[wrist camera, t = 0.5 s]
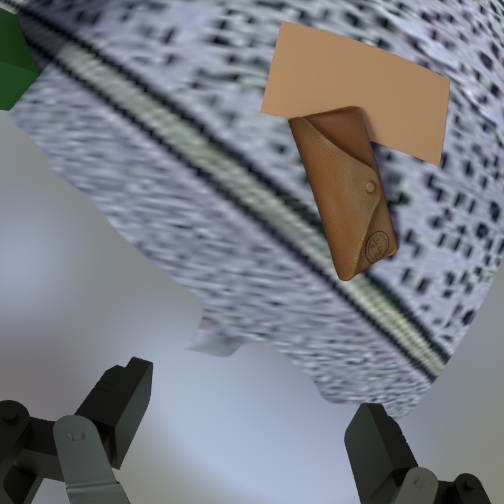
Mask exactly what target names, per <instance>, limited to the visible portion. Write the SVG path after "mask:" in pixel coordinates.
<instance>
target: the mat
mask: <svg viewBox="0 0 504 504" xmlns="http://www.w3.org/2000/svg"><path fill="white" fill-rule="evenodd" d="M449 84H450V80H448V79H446V78H444V77H442V76H440V75H438V74H436V73H434V72H432V71H430V70H428V69H426V68H424V67H422V66H420V65H418V64H415V63H413V62H411V61H409V60H406V59H404V58H402V57H399V56H397V55H394V54H392V53H389V52H387V51H384V50H382V49H379V48H376V47H374V46H371V45H368V44H365V43H362V42H359V41H356V40H353V39H350V38H347V37H344V36H340V35H337V34H334V33H330V32H326V31H323V30H319V29H315V28H311V27H307V26H303V25H298V24H294V23H289V22H284V21H282V22H281V27H280V31H279V35H278V39H277V43H276V47H275V51H274V55H273V60H272V64H271V68H270V72H269V77H268V81H267V85H266V90H265V94H264V98H263V103H262V107H261V111H260V112H263V113H268V114H273V115H278V116H282V117H287V118H294V117H303V116H308V115H311V114H317V113H322V112H326V111H331V110H335V109H339V108H343V107H348V106H355V107H359V108H360V110H361V113H362V115H363V118H364V121H365V125H366V128H367V132H368V135H369V139H370V141H372V142H375V143H378V144H381V145H384V146H387V147H390V148H393V149H396V150H398V151H401V152H404V153H406V154H409V155H412V156H414V157H417V158H419V159H422V160H424V161H427V162H429V163H432V164H434V165H437V166H439V165H440V160H441V154H442V147H443V141H444V134H445V126H446V118H447V108H448V97H449Z"/></svg>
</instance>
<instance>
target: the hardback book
mask: <svg viewBox="0 0 504 504" xmlns="http://www.w3.org/2000/svg"><path fill="white" fill-rule="evenodd" d="M39 75H40V73H39V71H38V69H37V66H36V64H35V62H34V59H33V57H32V55H31V52H30V50H29V48H28V45H27V43H26V40H25V38H24V35H23V33H22V30H21V28H20V25H19V22H18V20H17V17H16V15H14V14H12V13H10V12H8V11H6V10H4V9H2V8H0V110H7V111H9V110H10V109H11V108H12V106H13V105H14V104H15V103H16V102H17V100H18V99H19V98H20V97H21V95H22V94H23V93H24V92H25V91H26V90H27V88H28V87H29V86H30V85H31V84H32V83H33V82H34V81H35V79H36V78H37V77H38V76H39Z"/></svg>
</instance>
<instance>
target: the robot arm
mask: <svg viewBox="0 0 504 504" xmlns="http://www.w3.org/2000/svg"><path fill="white" fill-rule="evenodd" d="M152 373H153V363H152V362H150V361H146V360H143V359H140V358H137V357H132V358H131V360H130V361H129V363H128V365H127V366H126V367H122V366H119V365H116V366H114V367H112V368H110V369H108V370H106V371H105V373H104V374H103V376H102V377H101V378H100V381H98V382H97V384H96V385H95V387H94V388H93V389H92V390H91V392H90V393H89V395H88V396H87V397H86V399H85V400H84V402H83V403H82V404H81V406H80V407H79V408H78V410H77V411H76V413H75V414H74V415H67V416H63V417H61V418H60V419H58V420H57V421H56V422H55V421H47V420H43V419H38V418H34V417H30V415H29V412H28V411H27V409H26V408H25V407H24V406H23V405H22V404H20V403H19V402H16V401H12V400H5V401H1V402H0V504H31V503H32V500H33V498H34V496H35V494H36V492H37V490H38V488H39V487H40V485H41V483H42V480H43V479H44V478H48V479H53V480H58V481H63V482H65V484H66V491H67V495H68V498H69V501H70V504H131V503H130V502H129V499H128V497H127V495H126V493H125V491H124V489H123V487H122V485H121V484H120V482H118V481H117V480H116V478H115V476H114V473H113V471H112V468H115V469H118V470H119V469H120V467H121V464H122V462H123V460H124V457H125V455H126V453H127V451H128V449H129V446H130V444H131V442H132V440H133V438H134V435H135V433H136V431H137V429H138V427H139V424H140V422H141V420H142V418H143V416H144V414H145V411H146V409H147V407H148V404H149V400H150V396H151V386H152ZM344 442H345V446H346V450H347V453H348V457H349V460H350V464H351V468H352V472H353V475H354V479H355V483H356V487H357V490H358V494H359V498H360V502H361V504H491V502H490V500H489V498H488V496H487V494H486V492H485V490H484V488H483V486H482V484H481V482H480V481H479V479H478V478H477V477H475V476H474V475H472V474H468V473H464V474H460V475H459V476H458V477H457V478H456V479H455V480H454V481H453V482H447V481H439V480H438V479H437V477H436V476H435V474H434V473H433V472H432V471H430V470H428V469H426V468H423V467H418V464H417V462H416V460H415V458H414V456H413V454H412V452H411V449H410V447H409V445H408V443H407V442H406V439H405V437H404V435H402V431H401V429H400V427H399V425H398V423H397V422H396V421H395V420H394V419H393V418H392V417H391V416H388V415H387V413H386V411H385V409H384V407H383V405H382V404H377V403H362V404H361V405H360V407H359V409H358V411H357V412H356V414H355V416H354V417H353V419H352V421H351V423H350V424H349V426H348V428H347V429H346V432H345V437H344ZM111 467H112V468H111Z"/></svg>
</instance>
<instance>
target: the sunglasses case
mask: <svg viewBox="0 0 504 504" xmlns="http://www.w3.org/2000/svg"><path fill="white" fill-rule="evenodd" d="M288 122H289V125H290V128H291V131H292V134H293V137H294V140H295V142H296V145H297V148H298V151H299V154H300V156H301V159H302V162H303V165H304V168H305V171H306V174H307V177H308V180H309V183H310V186H311V189H312V192H313V195H314V198H315V201H316V204H317V207H318V211H319V214H320V217H321V221H322V224H323V227H324V231H325V234H326V237H327V241H328V245H329V248H330V252H331V255H332V260H333V263H334V266H335V269H336V272H337V275H338V277H339V279H340V280H342V281H348V280H351V279H352V278H353V277H354V276H355V275H357V274H358V273H360V272H361V271H363V270H365V269H366V268H368V267H369V266H371V265H372V264H374V263H375V262H377V261H378V260H380V259H383V258H386V257H389V256H391V255H393V254H395V253H396V252H397V241H396V237H395V232H394V228H393V225H392V220H391V216H390V213H389V209H388V205H387V201H386V197H385V193H384V190H383V186H382V182H381V178H380V174H379V171H378V167H377V164H376V160H375V157H374V153H373V149H372V146H371V143H370V139H369V135H368V132H367V128H366V125H365V121H364V118H363V115H362V113H361V110H360V108H359V107H355V106H348V107H343V108H339V109H335V110H331V111H326V112H322V113H317V114H311V115H308V116H303V117H294V118H291V119H289V120H288Z"/></svg>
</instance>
